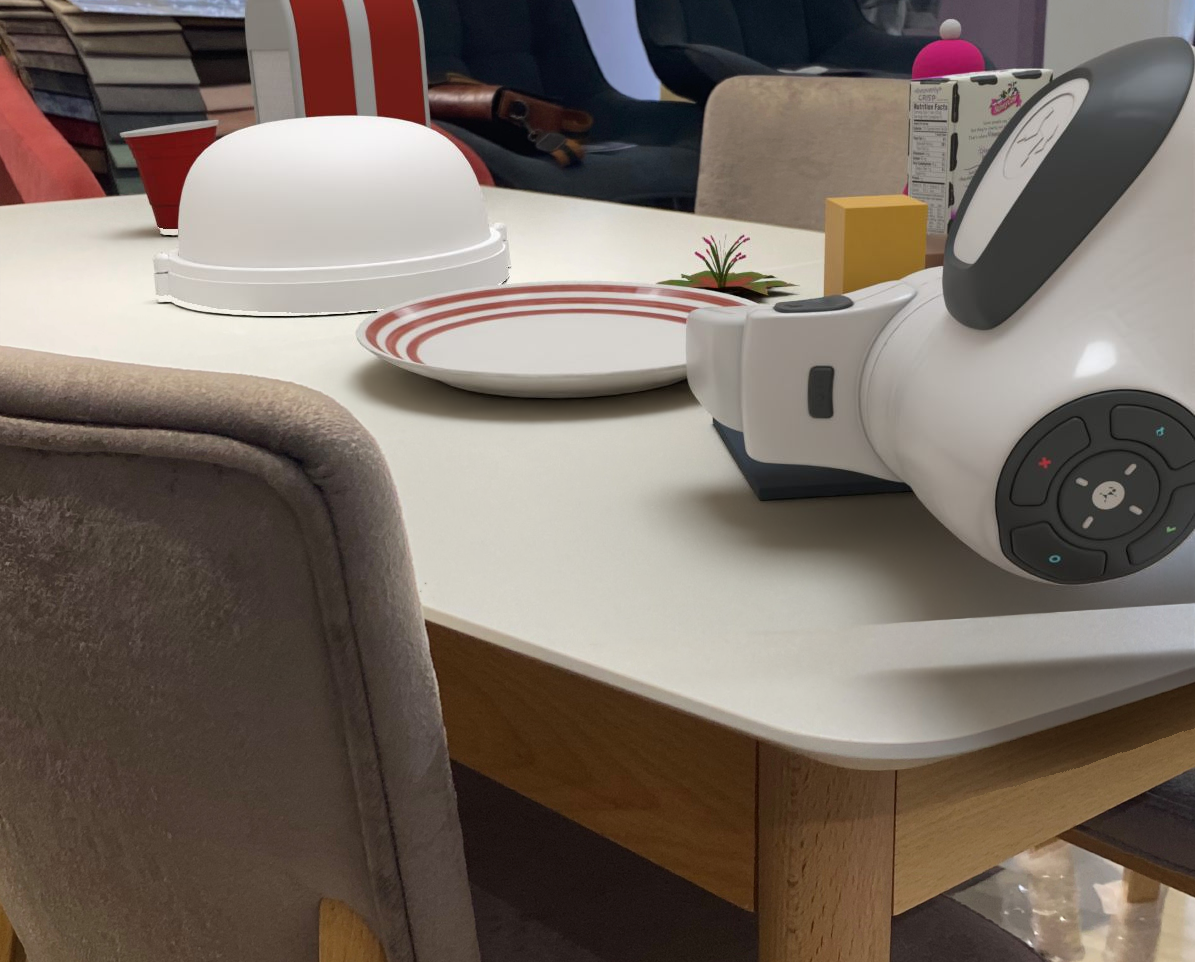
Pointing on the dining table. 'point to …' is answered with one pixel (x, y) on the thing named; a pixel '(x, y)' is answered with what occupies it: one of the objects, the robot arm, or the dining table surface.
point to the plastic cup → (168, 162)
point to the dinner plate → (544, 336)
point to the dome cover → (330, 219)
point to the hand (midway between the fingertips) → (867, 314)
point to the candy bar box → (959, 132)
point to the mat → (800, 475)
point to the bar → (872, 241)
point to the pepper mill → (947, 56)
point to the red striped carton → (337, 59)
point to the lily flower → (726, 275)
